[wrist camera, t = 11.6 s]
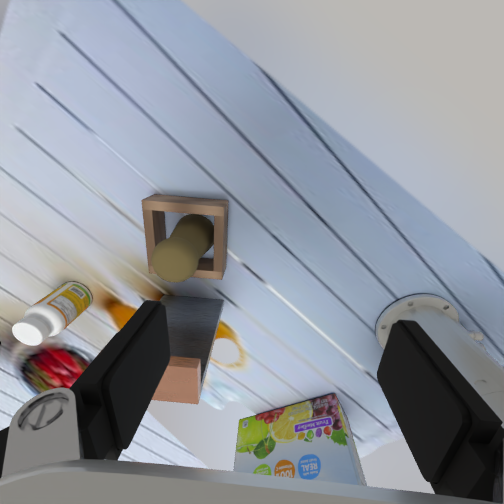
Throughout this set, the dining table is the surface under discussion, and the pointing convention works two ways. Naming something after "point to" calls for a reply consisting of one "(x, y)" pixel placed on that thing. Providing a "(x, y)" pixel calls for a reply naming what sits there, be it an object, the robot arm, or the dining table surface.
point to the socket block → (217, 208)
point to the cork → (183, 248)
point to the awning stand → (188, 346)
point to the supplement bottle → (52, 313)
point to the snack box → (300, 443)
